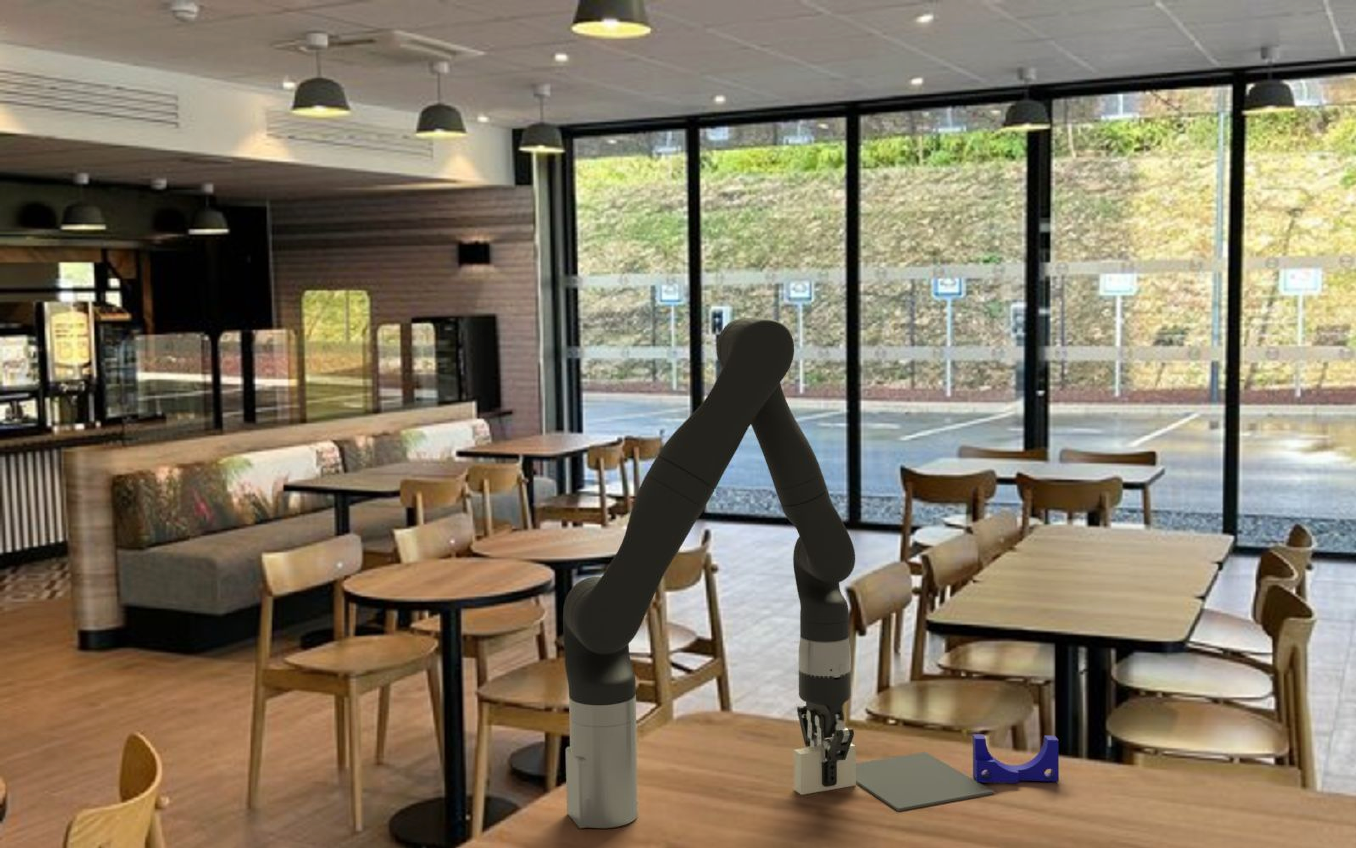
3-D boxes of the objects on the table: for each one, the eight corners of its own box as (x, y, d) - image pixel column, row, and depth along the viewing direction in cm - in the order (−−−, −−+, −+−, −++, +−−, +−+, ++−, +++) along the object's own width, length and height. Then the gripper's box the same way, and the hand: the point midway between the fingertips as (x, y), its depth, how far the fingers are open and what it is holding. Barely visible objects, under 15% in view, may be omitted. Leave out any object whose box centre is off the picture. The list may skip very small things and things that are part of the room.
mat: (897, 811, 184) (897, 808, 184) (835, 769, 201) (834, 766, 201) (993, 793, 190) (993, 791, 190) (925, 754, 207) (925, 752, 206)
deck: (800, 794, 190) (800, 754, 190) (793, 789, 192) (793, 749, 192) (855, 785, 194) (855, 745, 193) (848, 780, 196) (847, 741, 195)
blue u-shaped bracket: (976, 782, 193) (976, 741, 193) (973, 774, 198) (972, 734, 198) (1060, 784, 192) (1060, 742, 192) (1054, 776, 197) (1054, 735, 197)
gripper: (780, 658, 196) (780, 771, 198) (824, 682, 184) (824, 803, 185) (824, 652, 199) (824, 763, 201) (871, 676, 186) (871, 794, 188)
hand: (824, 782), depth 193 cm, fingers closed on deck, 2 cm apart
